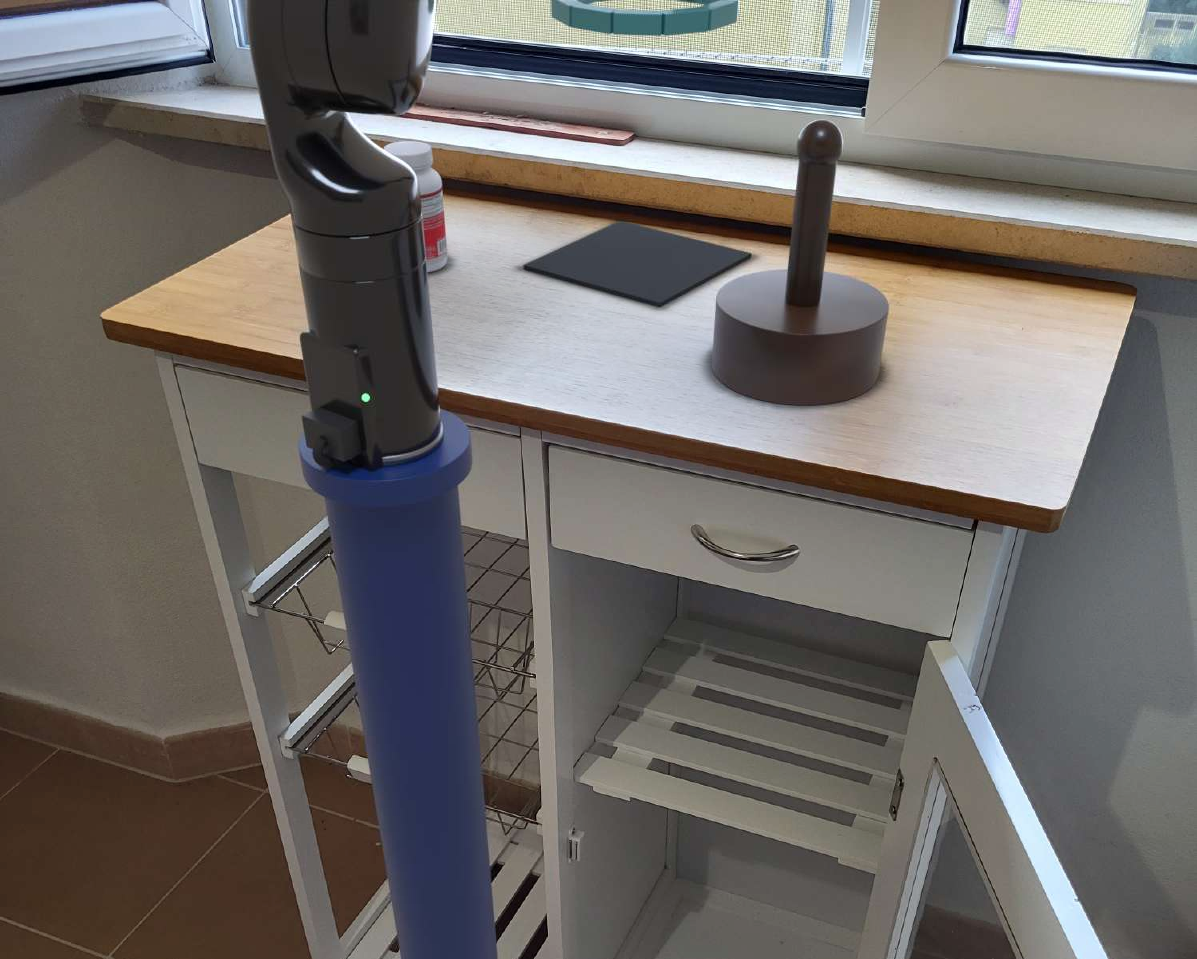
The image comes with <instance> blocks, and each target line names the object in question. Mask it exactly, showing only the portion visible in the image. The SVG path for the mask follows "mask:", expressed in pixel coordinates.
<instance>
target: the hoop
mask: <svg viewBox="0 0 1197 959" xmlns="http://www.w3.org/2000/svg"><path fill="white" fill-rule="evenodd" d="M610 1H612V0H550V9H551V11H550V12H551V14H550V15H551V18H552V19H554V20H556V21H558V22H560V23H561V24H563V25H566V26H567V27H569V28H572V29H578V30H583V31H584V30H585V31H589V32H594V33H601V34H605V35H606V34H607V35H619V36H621V35H623V36H655V37H657V36H658V37H660V36H661V37H662V36H664V37H666V36H667V37H668V36H676V35H677V36H678V35H688V34H698V33H707V32H712V31H714V30H718V29H720V28H724V27H728V26H730V25H732V24H733V25H734V24H736V23H737V22H738V17H739V9H740V8H739V7H740V6H739V5H740V0H676V1H677V2H683V3H689V4H696V5H697V4H698V5H700V6H696V7H695V6H694V7H685V8H674V9H673V8H672V9H661V10H656V9H655V10H652V9H643V10H642V9H618V8H613V7H612V8H611V7H607V6H599V5H593V4H594V3H598V2H610Z"/></svg>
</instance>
